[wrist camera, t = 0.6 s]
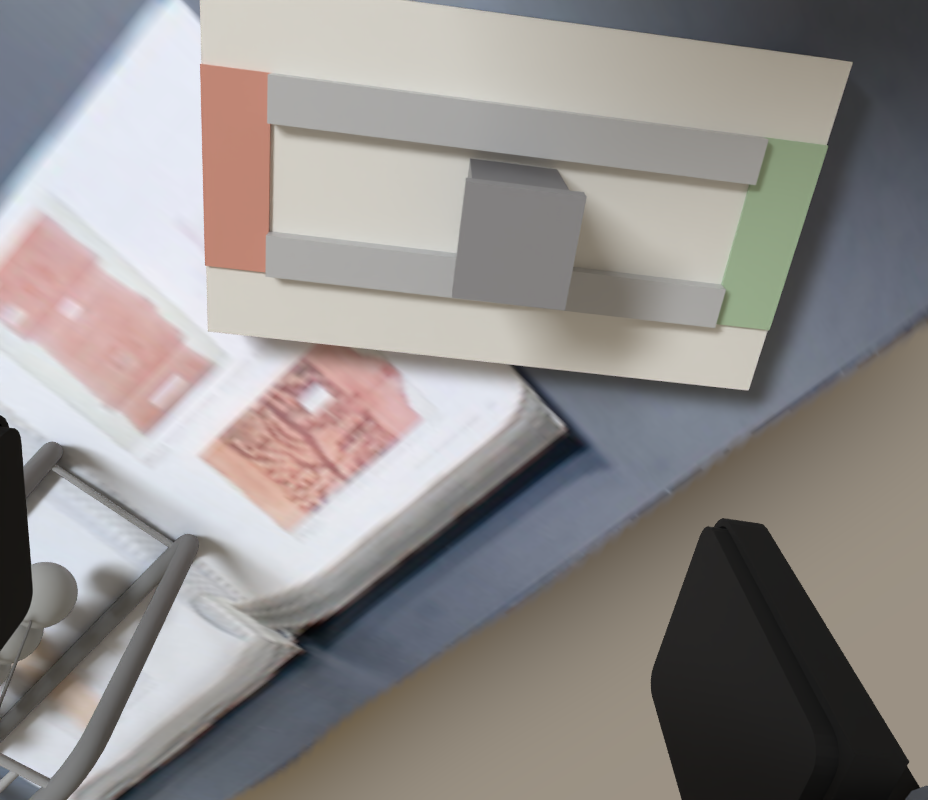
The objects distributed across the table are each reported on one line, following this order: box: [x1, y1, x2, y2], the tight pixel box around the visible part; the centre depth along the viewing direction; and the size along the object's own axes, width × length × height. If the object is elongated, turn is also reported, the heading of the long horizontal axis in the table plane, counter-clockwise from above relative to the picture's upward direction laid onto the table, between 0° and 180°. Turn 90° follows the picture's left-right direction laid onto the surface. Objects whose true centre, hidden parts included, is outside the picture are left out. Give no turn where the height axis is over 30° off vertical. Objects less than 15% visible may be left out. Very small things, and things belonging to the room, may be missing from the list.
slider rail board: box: [200, 0, 853, 391], centre depth 38 cm, size 16×28×4 cm, turn 83°
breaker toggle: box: [452, 158, 587, 311], centre depth 34 cm, size 5×5×7 cm
